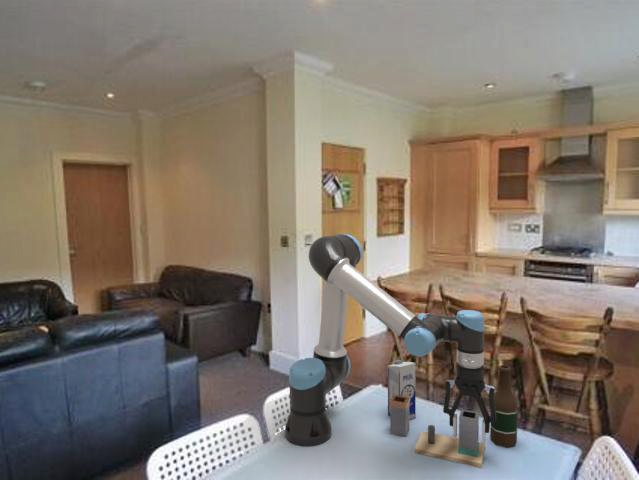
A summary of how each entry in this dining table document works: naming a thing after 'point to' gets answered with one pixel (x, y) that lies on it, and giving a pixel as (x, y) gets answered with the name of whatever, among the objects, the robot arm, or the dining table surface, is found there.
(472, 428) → the grey rectangular box
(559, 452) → the dining table surface
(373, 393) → the dining table surface
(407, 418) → the sleeve rust
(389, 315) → the robot arm
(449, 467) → the dining table surface
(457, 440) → the pin board
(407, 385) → the milk carton
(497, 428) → the beer bottle
